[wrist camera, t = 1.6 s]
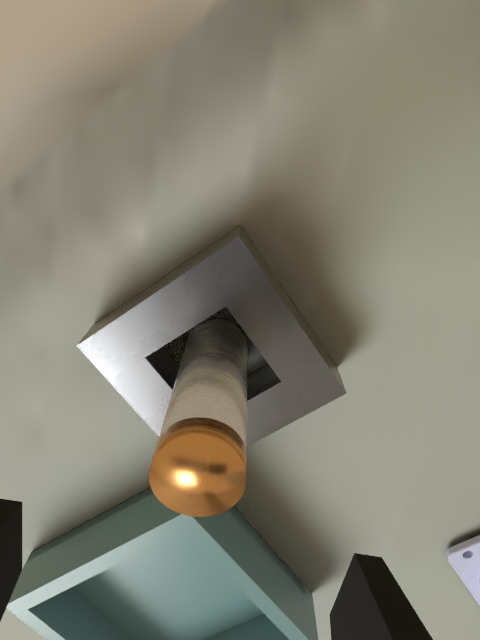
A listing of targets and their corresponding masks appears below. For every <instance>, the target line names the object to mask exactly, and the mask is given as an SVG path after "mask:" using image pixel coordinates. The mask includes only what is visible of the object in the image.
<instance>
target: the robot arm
mask: <svg viewBox="0 0 480 640" xmlns="http://www.w3.org/2000/svg"><path fill="white" fill-rule="evenodd" d="M446 556H447V558H448V560H449V562H450V564H451V565H452V567H453V568H454V569H455V571H456V572H457V574H458V575H459V577H460V578H461V579H462V581H463V582H464V584H465V585H466V587H467V588H468V589H469V591H470V592H471V594H472V595H473V597H474V598H475V599H476V601H477V602H478V604H479V605H480V535H478V536H476V537H474V538H471V539H469V540H466V541H464V542H462V543H459V544H457V545H455V546H452V547H450V548H449V549H448V550H447V551H446ZM21 571H22V502H18V501H12V500H5V499H0V621H1V618H2V616H3V614H4V612H5V609H6V607H7V605H8V602H9V600H10V598H11V595H12V593H13V590H14V588H15V586H16V583H17V581H18V578H19V576H20V574H21ZM330 624H331V638H332V640H433V639H432V637H431V636H430V634H429V633H428V631H427V630H426V628H425V626H424V625H423V623H422V622H421V620H420V618H419V617H418V615H417V614H416V612H415V610H414V609H413V607H412V606H411V604H410V602H409V601H408V599H407V598H406V596H405V594H404V593H403V591H402V589H401V588H400V586H399V585H398V583H397V581H396V580H395V578H394V576H393V575H392V573H391V572H390V570H389V568H388V567H387V565H386V564H385V562H384V560H383V559H382V557H375V556H369V555H362V554H356V553H354V556H353V558H352V561H351V563H350V566H349V568H348V571H347V573H346V576H345V578H344V581H343V583H342V586H341V588H340V591H339V593H338V596H337V598H336V601H335V603H334V605H333V608H332V610H331V613H330Z"/></svg>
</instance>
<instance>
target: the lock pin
mask: <svg viewBox="0 0 480 640" xmlns="http://www.w3.org/2000/svg"><path fill="white" fill-rule="evenodd" d="M246 471H247V340H246V337H245V335H244V333H243V332H242V330H241V329H240V328H239V327H238V326H236V325H235V324H234V323H232V322H230V321H227V320H223V319H209V320H206V321H203V322H201V323H199V324H198V325H197V326H195V327H194V328H193V330H192V331H191V333H190V334H189V337H188V340H187V343H186V347H185V350H184V353H183V357H182V360H181V364H180V367H179V371H178V374H177V377H176V381H175V384H174V388H173V391H172V395H171V398H170V401H169V405H168V408H167V412H166V415H165V419H164V422H163V426H162V429H161V432H160V436H159V439H158V443H157V446H156V450H155V453H154V456H153V460H152V463H151V467H150V471H149V483H150V486H151V489H152V491H153V493H154V495H155V496H156V497H157V499H158V500H159V501H160V502H161V503H162V504H163V505H165V506H166V507H168V508H169V509H171V510H173V511H175V512H177V513H180V514H183V515H187V516H194V517H207V516H213V515H217V514H220V513H223V512H225V511H227V510H228V509H230V508H232V507H233V506H234V505H235V504H236V503H237V502H238V501H239V500H240V499H241V497H242V495H243V494H244V491H245V488H246Z"/></svg>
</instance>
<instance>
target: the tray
mask: <svg viewBox="0 0 480 640" xmlns="http://www.w3.org/2000/svg"><path fill="white" fill-rule="evenodd" d="M6 608H7V609H8V610H9V611H10V612H12V613H13V614H14V615H16V616H17V617H18V618H19V619H21V620H22V621H23V622H25V623H26V624H27V625H28V626H30V627H31V628H32V629H34V630H35V631H36V632H37V633H39V634H40V635H41V636H42V637H44V638H45V639H46V640H318V635H317V627H316V620H315V612H314V605H313V597H312V593H311V592H310V591H309V590H308V589H307V588H306V587H305V586H304V585H303V583H302V582H301V581H300V580H299V579H298V578H297V577H296V576H295V574H294V573H293V572H292V571H291V570H290V569H289V568H288V567H287V565H286V564H285V563H284V562H283V561H282V560H281V559H280V558H279V556H278V555H277V554H276V553H275V552H274V551H273V550H272V549H271V547H270V546H269V545H268V544H267V543H266V542H265V541H264V540H263V538H262V537H261V536H260V535H259V534H258V533H257V532H256V531H255V530H254V528H253V527H252V526H251V525H250V524H249V523H248V522H247V521H246V519H245V518H244V517H243V516H242V515H241V514H240V513H239V512H238V510H237V509H236V508H235V507H234V506H233V507H232V508H230V509H228V510H227V511H225V512H223V513H220V514H217V515H213V516H207V517H194V516H187V515H183V514H180V513H177V512H175V511H173V510H171V509H169V508H168V507H166V506H165V505H163V504H162V503H161V502H160V501H159V500H158V499H157V497H156V496H155V495H154V493H153V491H152V489H151V487H150V488H148V489H146V490H145V491H143V492H141V493H139V494H137V495H135V496H134V497H132V498H130V499H128V500H126V501H124V502H123V503H121V504H119V505H117V506H115V507H113V508H112V509H110V510H108V511H106V512H104V513H102V514H101V515H99V516H97V517H95V518H93V519H91V520H90V521H88V522H86V523H84V524H82V525H80V526H78V527H77V528H75V529H73V530H71V531H69V532H67V533H66V534H64V535H62V536H60V537H58V538H56V539H55V540H53V541H51V542H49V543H47V544H45V545H44V546H42V547H40V548H38V549H36V550H34V551H33V552H31V554H30V556H29V558H28V560H27V562H26V564H25V566H24V568H23V570H22V571H21V574H20V576H19V578H18V581H17V583H16V586H15V588H14V590H13V593H12V595H11V598H10V600H9V602H8V605H7V607H6Z"/></svg>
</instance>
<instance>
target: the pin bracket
mask: <svg viewBox="0 0 480 640" xmlns="http://www.w3.org/2000/svg"><path fill="white" fill-rule="evenodd" d="M224 307H227V309H228V310H229V311H230V313H231V314H232V315H233V317H234V318H235V319H236V321H237V322H238V324H239V325H240V326H241V328H242V329H243V330H244V332H245V333H246V334H247V336H248V337H249V338H250V340H251V341H252V342H253V344H254V345H255V347H256V348H257V349H258V351H259V352H260V353H261V355H262V356H263V357H264V359H265V360H266V361H267V363H268V364H267V365H265V366H264V367H262V368H260V369H258V370H257V371H255V372H253V373H252V374H250V375H248V376H247V446H249V445H251V444H253V443H255V442H256V441H258V440H260V439H262V438H264V437H266V436H268V435H269V434H271V433H273V432H275V431H277V430H279V429H281V428H282V427H284V426H286V425H288V424H290V423H292V422H294V421H295V420H297V419H299V418H301V417H303V416H305V415H307V414H308V413H310V412H312V411H314V410H316V409H318V408H320V407H321V406H323V405H325V404H327V403H329V402H331V401H333V400H334V399H336V398H338V397H340V396H342V395H344V394H346V391H345V388H344V385H343V383H342V380H341V377H340V374H339V372H338V369H337V367H336V366H335V364H334V363H333V361H332V360H331V358H330V357H329V355H328V354H327V352H326V351H325V349H324V348H323V346H322V345H321V343H320V342H319V341H318V339H317V338H316V336H315V335H314V333H313V332H312V330H311V329H310V327H309V326H308V324H307V323H306V321H305V320H304V318H303V317H302V315H301V314H300V312H299V311H298V310H297V308H296V307H295V305H294V304H293V302H292V301H291V299H290V298H289V296H288V295H287V293H286V292H285V290H284V289H283V287H282V286H281V284H280V283H279V281H278V280H277V278H276V277H275V276H274V274H273V273H272V271H271V270H270V268H269V267H268V265H267V264H266V262H265V261H264V259H263V258H262V256H261V255H260V253H259V252H258V250H257V249H256V247H255V246H254V245H253V243H252V242H251V240H250V239H249V237H248V236H247V234H246V233H245V231H244V230H243V228H242V227H241V225H240V226H238V227H237V228H235V229H234V230H232V231H231V232H229V233H228V234H226V235H225V236H223V237H222V238H220V239H219V240H217V241H216V242H215V243H213V244H212V245H210V246H209V247H207V248H206V249H204V250H203V251H201V252H200V253H198V254H197V255H195V256H194V257H192V258H191V259H189V260H188V261H187V262H185V263H184V264H182V265H181V266H179V267H178V268H176V269H175V270H173V271H172V272H170V273H169V274H167V275H166V276H164V277H163V278H161V279H160V280H159V281H157V282H156V283H154V284H153V285H151V286H150V287H148V288H147V289H145V290H144V291H142V292H141V293H139V294H138V295H136V296H135V297H134V298H132V299H131V300H129V301H128V302H126V303H125V304H123V305H122V306H120V307H119V308H117V309H116V310H114V311H113V312H111V313H110V314H108V315H107V316H106V317H104V318H103V319H101V320H100V321H98V322H97V323H95V324H94V325H93V326H92V327H91V328H90V330H89V331H88V332H87V333H86V335H85V336H84V337H83V338H82V340H81V341H80V342H79V343H78V345H77V347H78V348H79V349H80V350H81V351H82V352H83V353H84V354H85V356H86V357H87V358H88V359H89V360H90V361H91V362H92V363H93V364H94V365H95V367H96V368H97V369H98V370H99V371H100V372H101V373H102V374H103V375H104V377H105V378H106V379H107V380H108V381H109V382H110V383H111V384H112V385H113V386H114V388H115V389H116V390H117V391H118V392H119V393H120V394H121V395H122V396H123V398H124V399H125V400H126V401H127V402H128V403H129V404H130V405H131V406H132V408H133V409H134V410H135V411H136V412H137V413H138V414H139V415H140V416H141V417H142V419H143V420H144V421H145V422H146V423H147V424H148V425H149V426H150V427H151V429H152V430H153V431H154V432H155V433H156V434H157V435H158V436H160V432H161V429H162V426H163V422H164V419H165V415H166V412H167V408H168V405H169V401H170V398H171V395H172V391H173V388H174V384H175V381H176V377H177V374H178V371H179V367H180V366H179V364H178V363H177V362H176V361H175V360H174V358H173V357H172V356H171V355H170V353H169V352H168V351H167V350H166V349H165V347H164V345H166V344H167V343H169V342H171V341H172V340H174V339H175V338H177V337H178V336H180V335H182V334H183V333H185V332H186V331H188V330H189V329H191V328H193V327H194V326H196V325H197V324H199V323H201V322H202V321H204V320H205V319H207V318H208V317H210V316H212V315H213V314H215V313H216V312H218V311H219V310H221V309H223V308H224Z"/></svg>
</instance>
